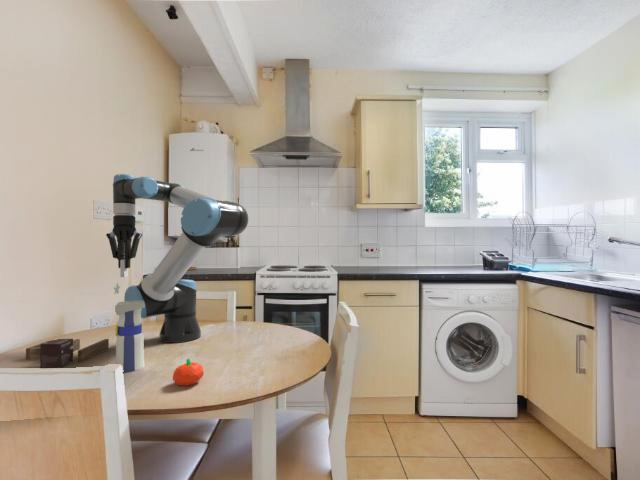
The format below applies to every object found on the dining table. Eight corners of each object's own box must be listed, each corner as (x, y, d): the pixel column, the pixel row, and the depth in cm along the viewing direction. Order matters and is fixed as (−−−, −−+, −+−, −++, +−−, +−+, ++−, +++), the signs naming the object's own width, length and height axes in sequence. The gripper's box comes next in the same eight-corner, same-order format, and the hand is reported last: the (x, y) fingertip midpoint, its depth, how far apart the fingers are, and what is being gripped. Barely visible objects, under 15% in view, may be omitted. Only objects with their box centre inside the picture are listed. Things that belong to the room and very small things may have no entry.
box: (60, 368, 105) (60, 343, 105) (39, 368, 105) (39, 343, 105) (73, 361, 111) (73, 338, 111) (54, 362, 111) (54, 338, 111)
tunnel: (108, 348, 125) (108, 338, 125) (81, 361, 111) (81, 350, 111) (53, 349, 125) (53, 339, 125) (19, 362, 111) (19, 350, 111)
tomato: (167, 390, 90) (164, 364, 90) (189, 378, 98) (186, 355, 98) (189, 390, 88) (186, 363, 88) (210, 378, 95) (207, 354, 95)
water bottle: (111, 375, 99) (111, 285, 100) (115, 365, 107) (115, 282, 108) (144, 370, 103) (144, 283, 103) (145, 362, 110) (145, 281, 111)
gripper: (146, 216, 141) (146, 275, 140) (113, 216, 141) (113, 276, 140) (136, 214, 133) (136, 277, 133) (101, 214, 133) (101, 277, 133)
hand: (124, 276), depth 136 cm, fingers closed
